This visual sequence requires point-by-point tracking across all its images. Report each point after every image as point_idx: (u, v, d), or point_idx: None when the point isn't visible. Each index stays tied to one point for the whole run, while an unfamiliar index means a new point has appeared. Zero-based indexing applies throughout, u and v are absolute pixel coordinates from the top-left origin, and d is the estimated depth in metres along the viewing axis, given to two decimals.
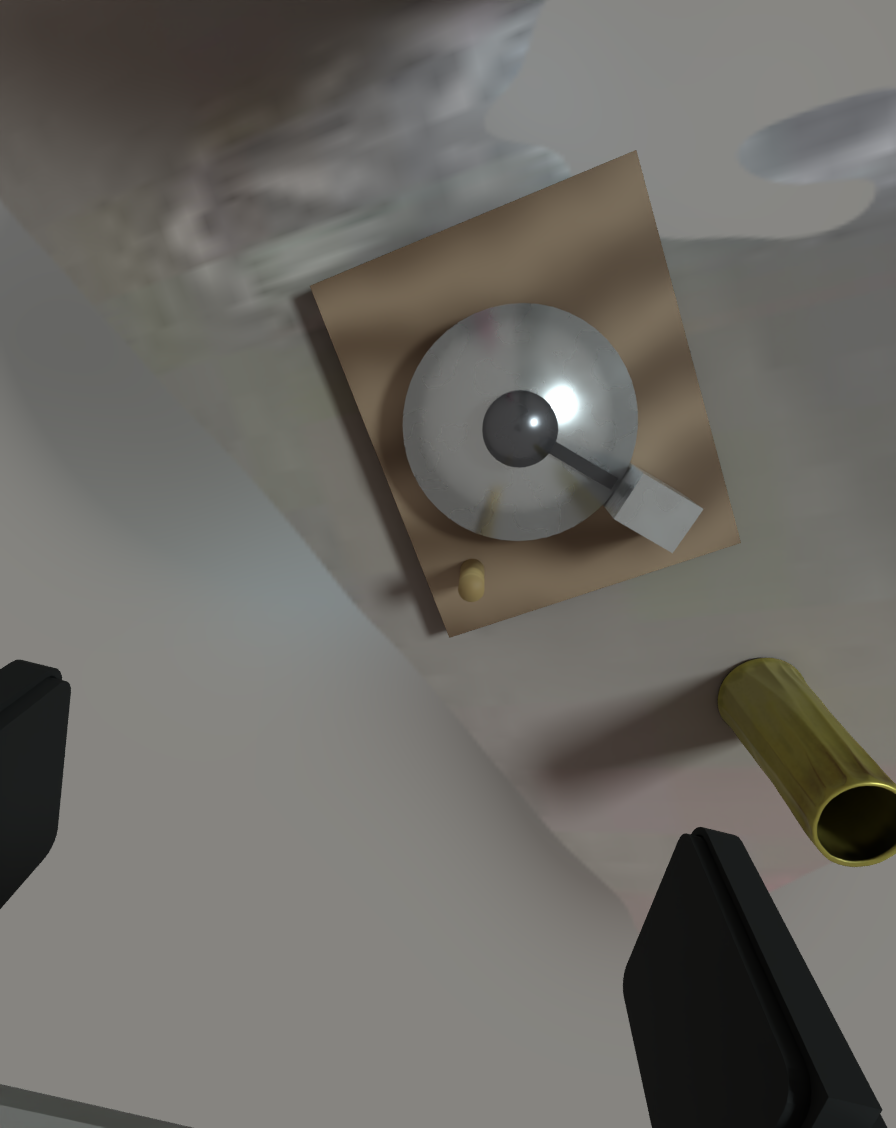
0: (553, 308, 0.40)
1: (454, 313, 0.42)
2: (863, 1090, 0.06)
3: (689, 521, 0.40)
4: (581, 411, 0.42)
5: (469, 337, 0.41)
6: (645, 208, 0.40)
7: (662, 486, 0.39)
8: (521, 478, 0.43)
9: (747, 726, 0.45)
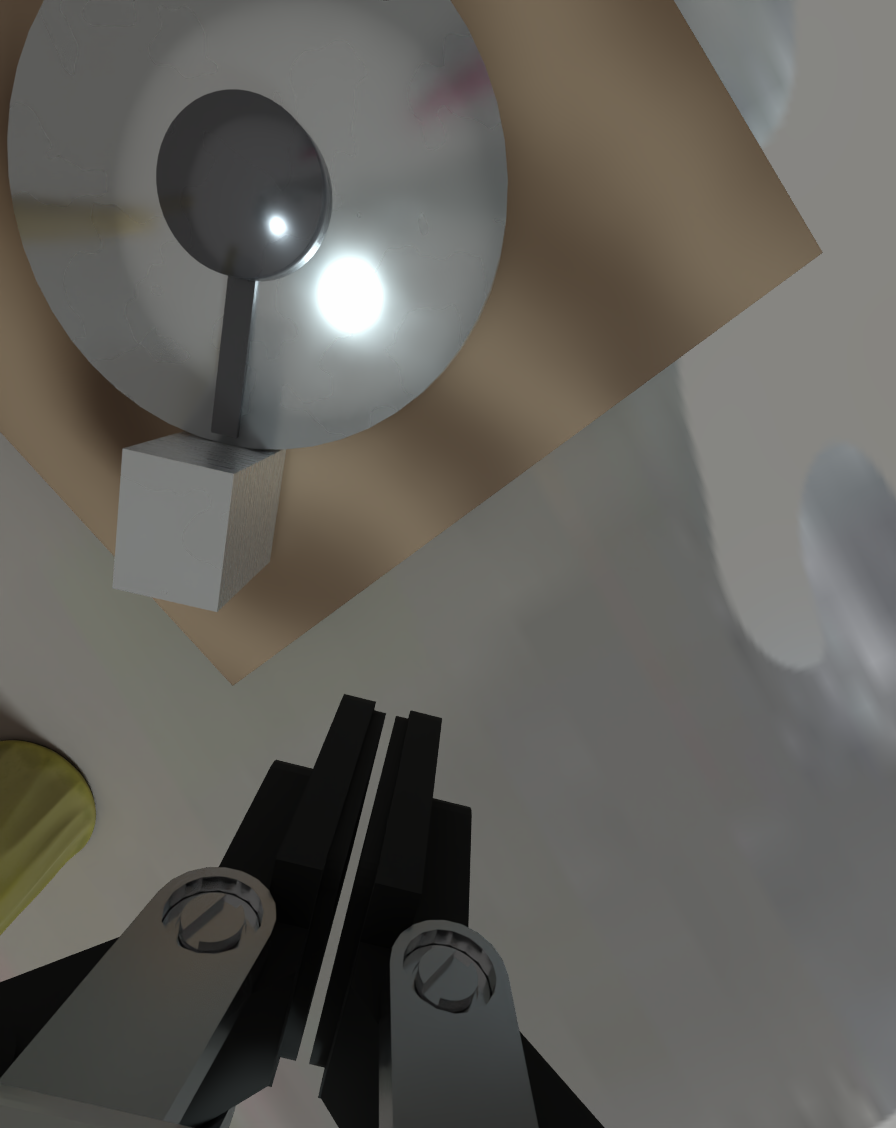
0: (504, 178, 0.19)
1: None
2: (412, 880, 0.07)
3: (183, 595, 0.20)
4: (331, 317, 0.20)
5: (394, 1, 0.18)
6: (725, 310, 0.21)
7: (225, 520, 0.19)
8: (158, 241, 0.20)
9: None
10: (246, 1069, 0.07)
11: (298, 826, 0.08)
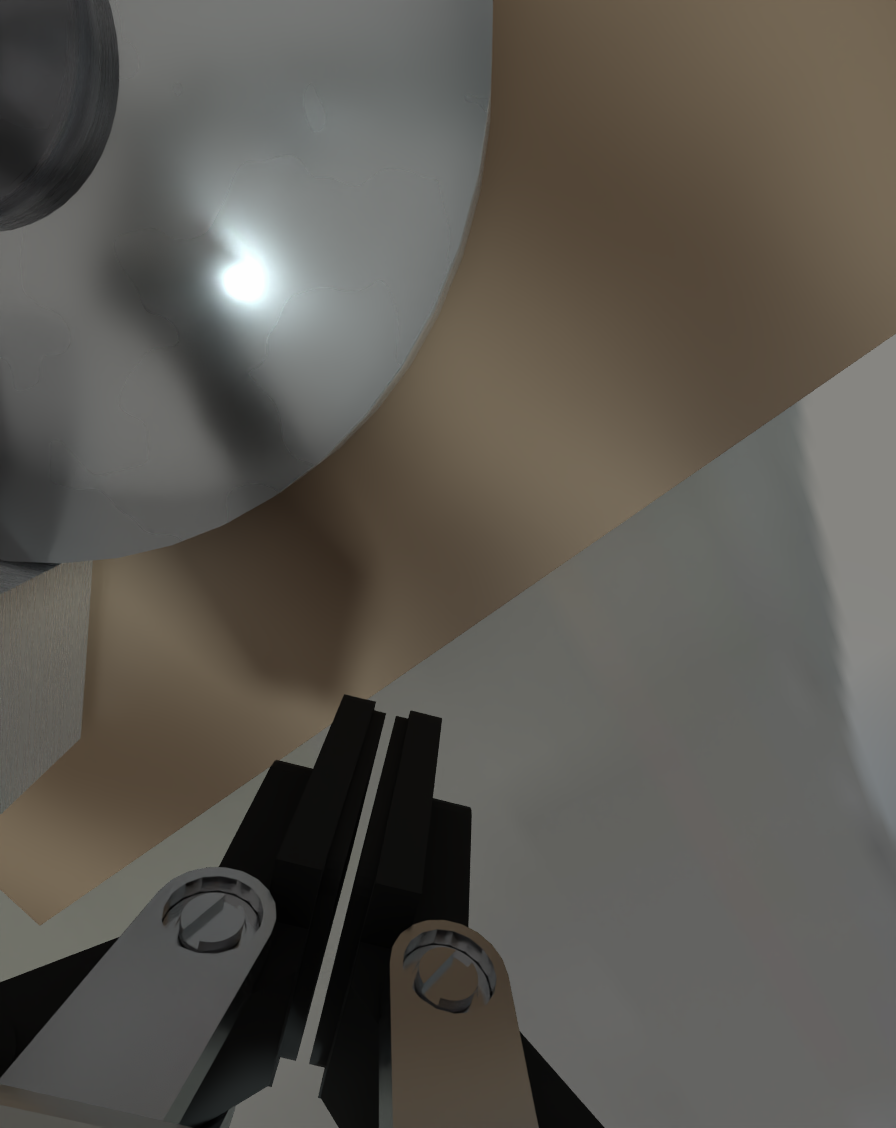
0: (486, 3, 0.09)
1: None
2: (412, 881, 0.07)
3: None
4: (134, 307, 0.10)
5: None
6: None
7: None
8: None
9: None
10: (246, 1069, 0.07)
11: (297, 826, 0.08)
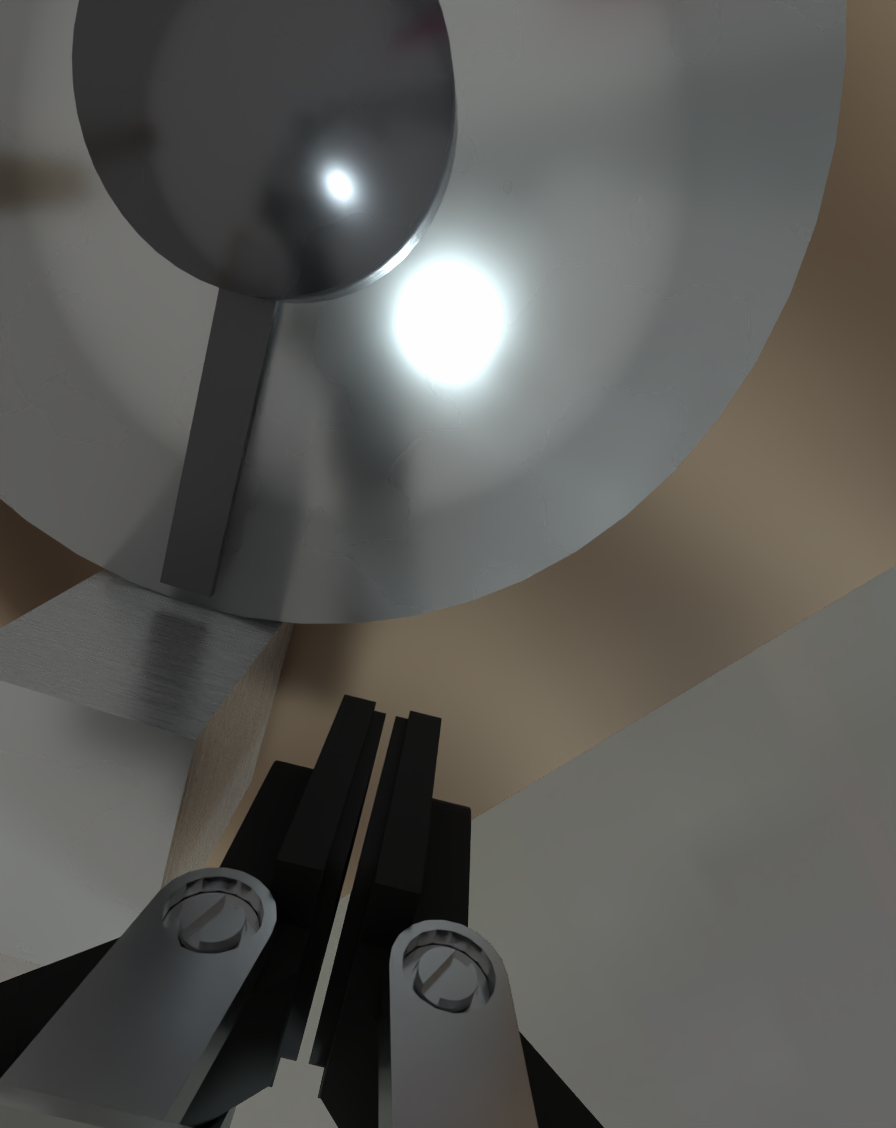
0: (830, 142, 0.09)
1: None
2: (411, 880, 0.07)
3: (67, 956, 0.09)
4: (422, 388, 0.10)
5: None
6: None
7: (167, 828, 0.08)
8: (80, 199, 0.10)
9: None
10: (246, 1069, 0.07)
11: (298, 826, 0.08)
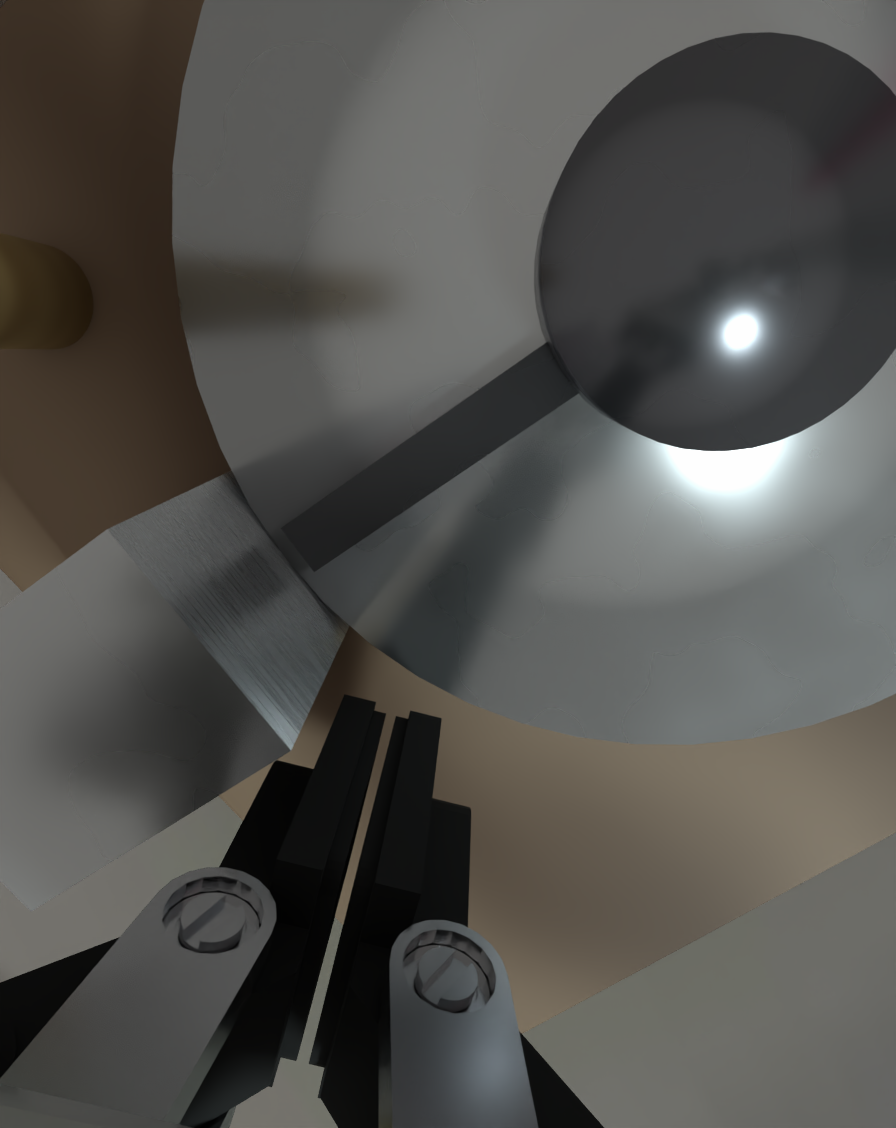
0: None
1: None
2: (411, 880, 0.07)
3: None
4: (627, 543, 0.10)
5: None
6: None
7: (196, 802, 0.08)
8: (485, 175, 0.09)
9: None
10: (246, 1069, 0.07)
11: (298, 826, 0.08)
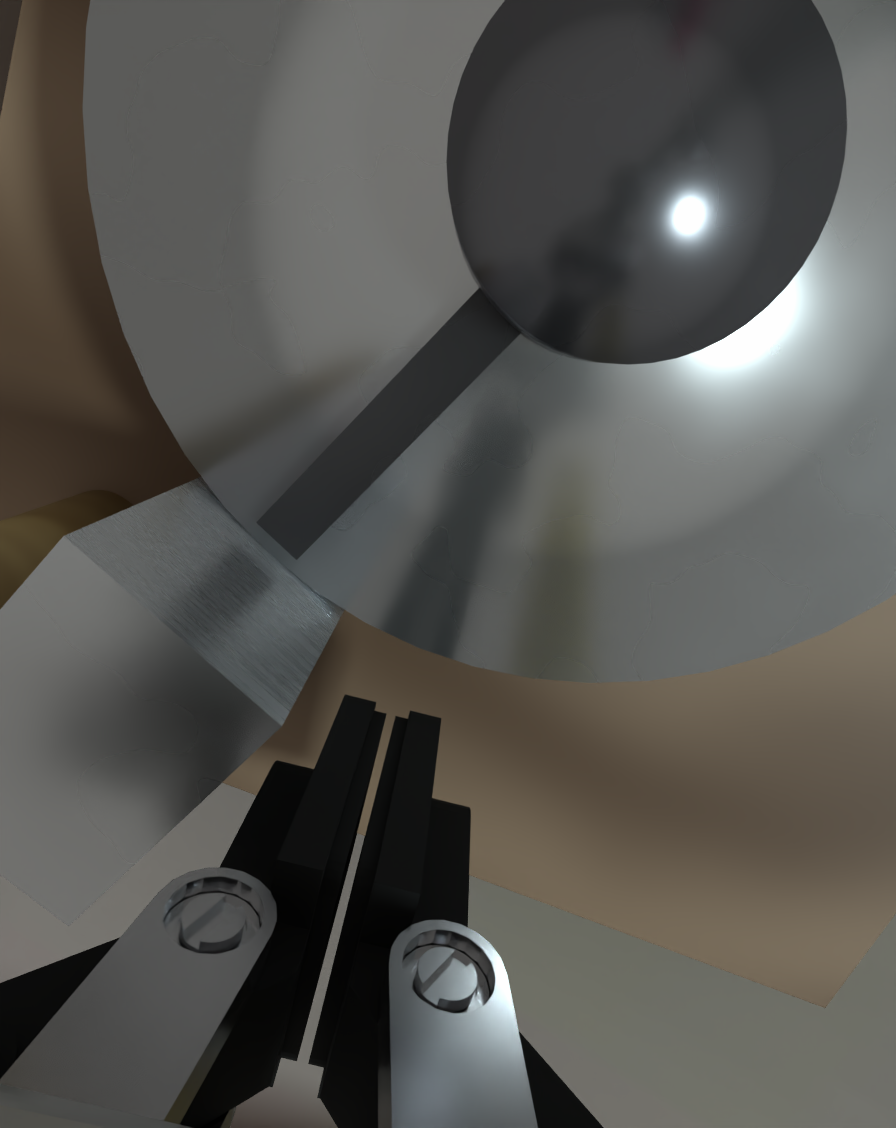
0: None
1: None
2: (411, 880, 0.07)
3: (16, 864, 0.08)
4: (600, 476, 0.10)
5: None
6: None
7: (201, 792, 0.08)
8: (387, 134, 0.09)
9: None
10: (247, 1069, 0.07)
11: (299, 826, 0.08)
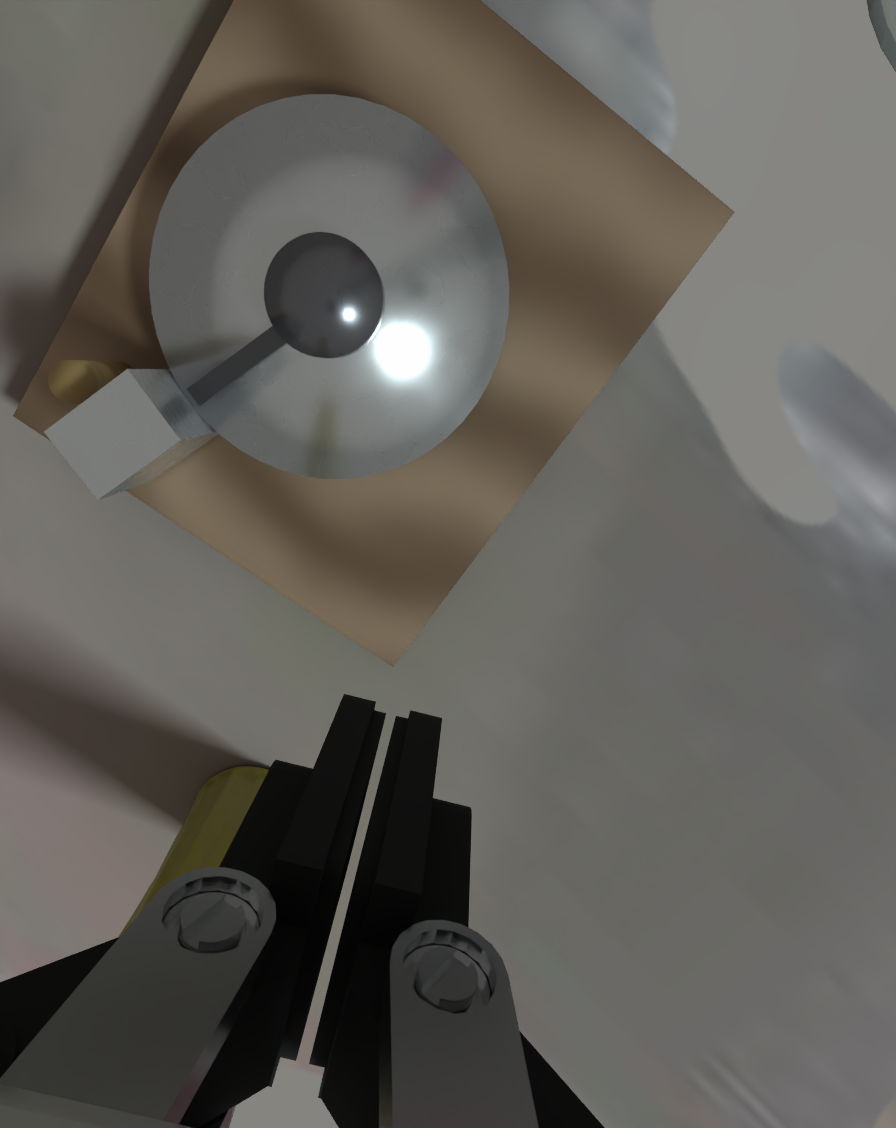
0: (461, 420, 0.28)
1: (411, 112, 0.27)
2: (412, 880, 0.07)
3: (85, 474, 0.26)
4: (313, 396, 0.28)
5: (482, 289, 0.27)
6: (678, 273, 0.28)
7: (151, 458, 0.26)
8: (254, 266, 0.27)
9: (190, 834, 0.32)
10: (246, 1069, 0.07)
11: (298, 826, 0.08)
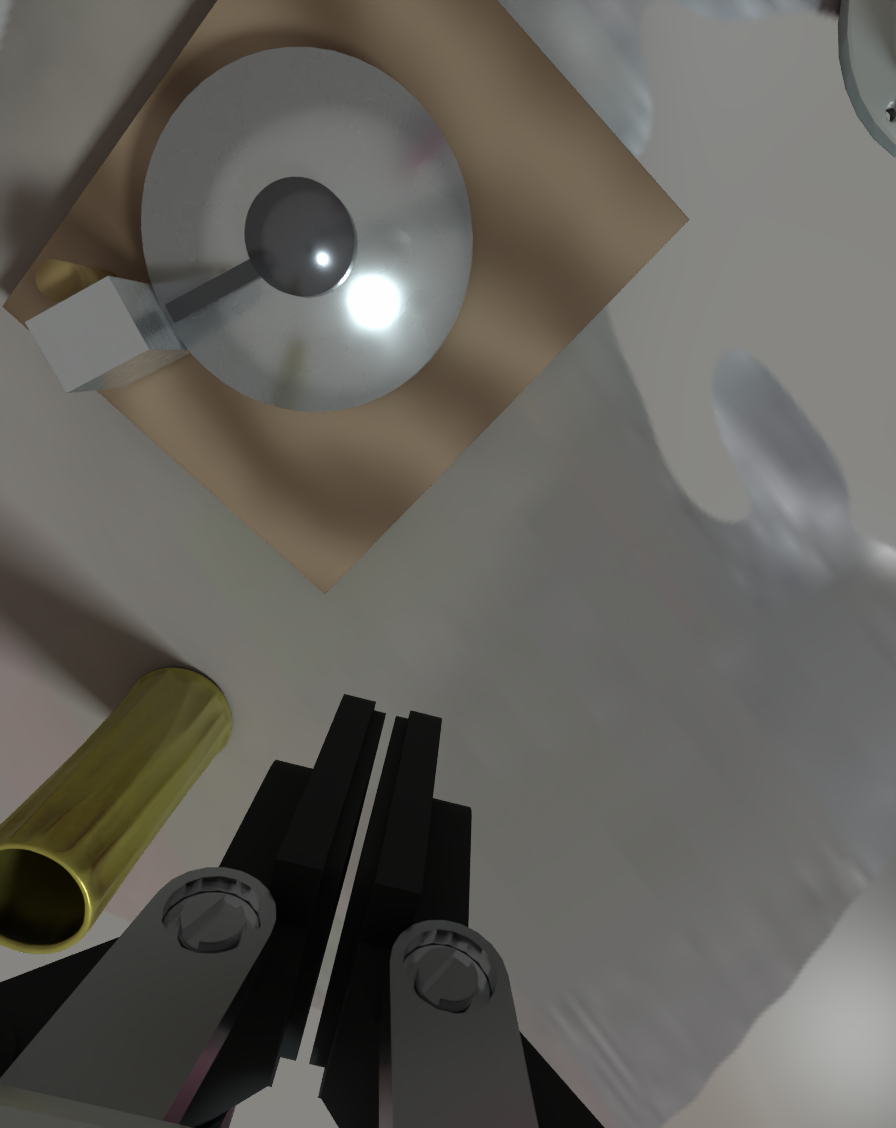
0: (413, 373, 0.31)
1: (406, 79, 0.29)
2: (412, 880, 0.07)
3: (58, 367, 0.28)
4: (280, 330, 0.31)
5: (446, 254, 0.29)
6: (630, 268, 0.31)
7: (120, 361, 0.28)
8: (240, 200, 0.29)
9: (116, 717, 0.35)
10: (246, 1069, 0.07)
11: (298, 826, 0.08)
